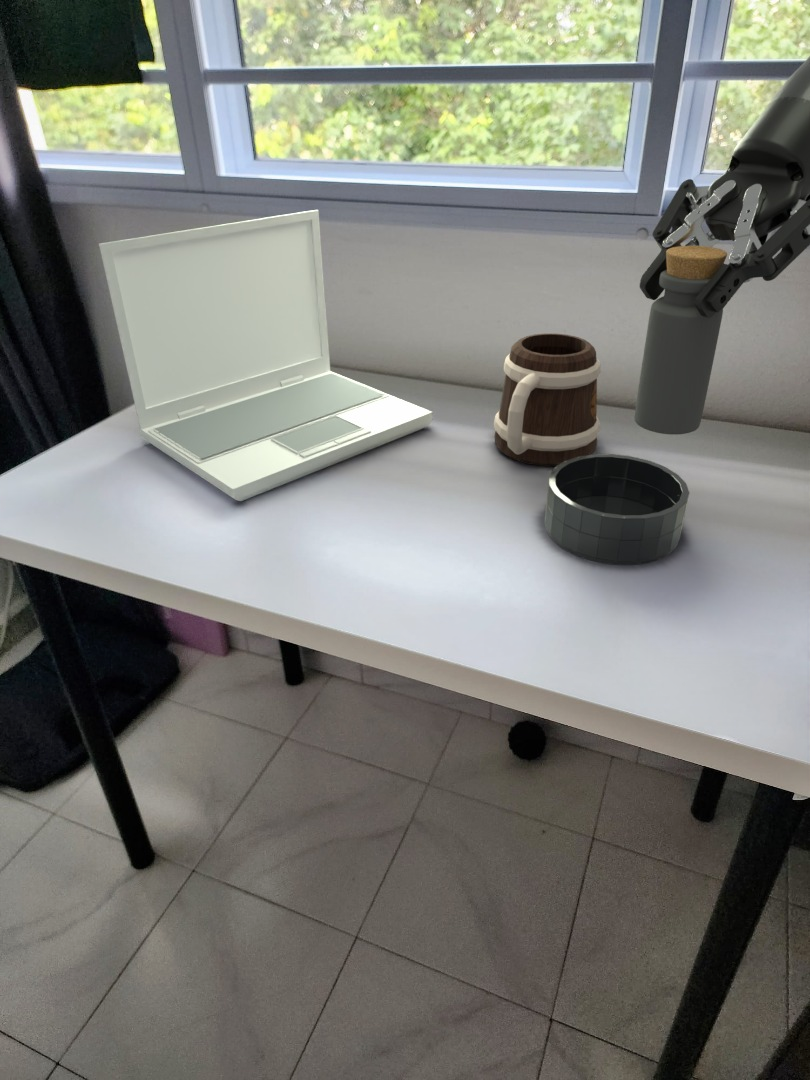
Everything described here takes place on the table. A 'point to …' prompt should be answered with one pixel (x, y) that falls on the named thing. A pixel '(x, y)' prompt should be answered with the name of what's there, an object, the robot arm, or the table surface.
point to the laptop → (242, 354)
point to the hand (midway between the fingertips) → (673, 301)
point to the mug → (549, 400)
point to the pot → (615, 508)
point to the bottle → (679, 345)
